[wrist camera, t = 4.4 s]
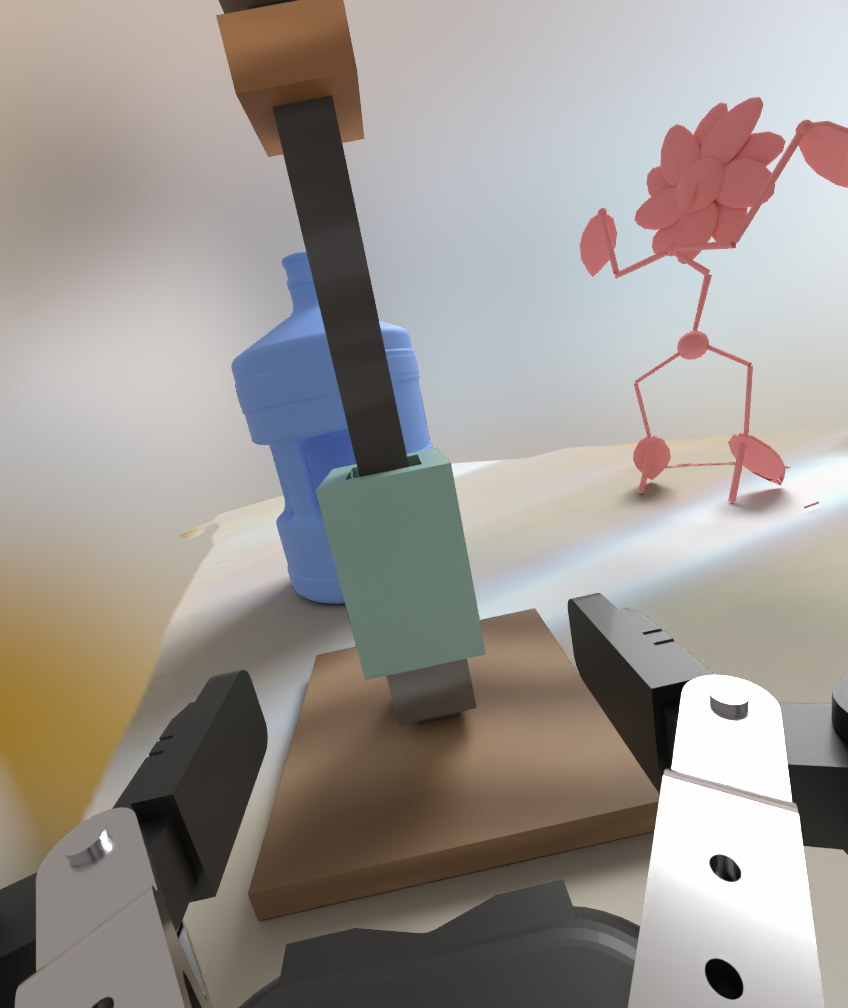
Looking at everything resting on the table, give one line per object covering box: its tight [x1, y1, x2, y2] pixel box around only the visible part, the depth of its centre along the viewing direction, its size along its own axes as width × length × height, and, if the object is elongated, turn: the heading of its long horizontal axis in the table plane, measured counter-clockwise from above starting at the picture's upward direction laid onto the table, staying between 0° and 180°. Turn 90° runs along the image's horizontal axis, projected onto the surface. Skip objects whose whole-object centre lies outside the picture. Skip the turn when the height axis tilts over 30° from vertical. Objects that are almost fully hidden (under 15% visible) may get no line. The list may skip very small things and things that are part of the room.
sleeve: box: [316, 448, 486, 680], centre depth 20 cm, size 5×5×8 cm
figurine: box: [580, 97, 848, 508], centre depth 46 cm, size 15×26×35 cm, turn 34°
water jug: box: [232, 252, 433, 604], centre depth 41 cm, size 16×16×28 cm
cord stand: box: [217, 0, 660, 921], centre depth 18 cm, size 14×14×31 cm
